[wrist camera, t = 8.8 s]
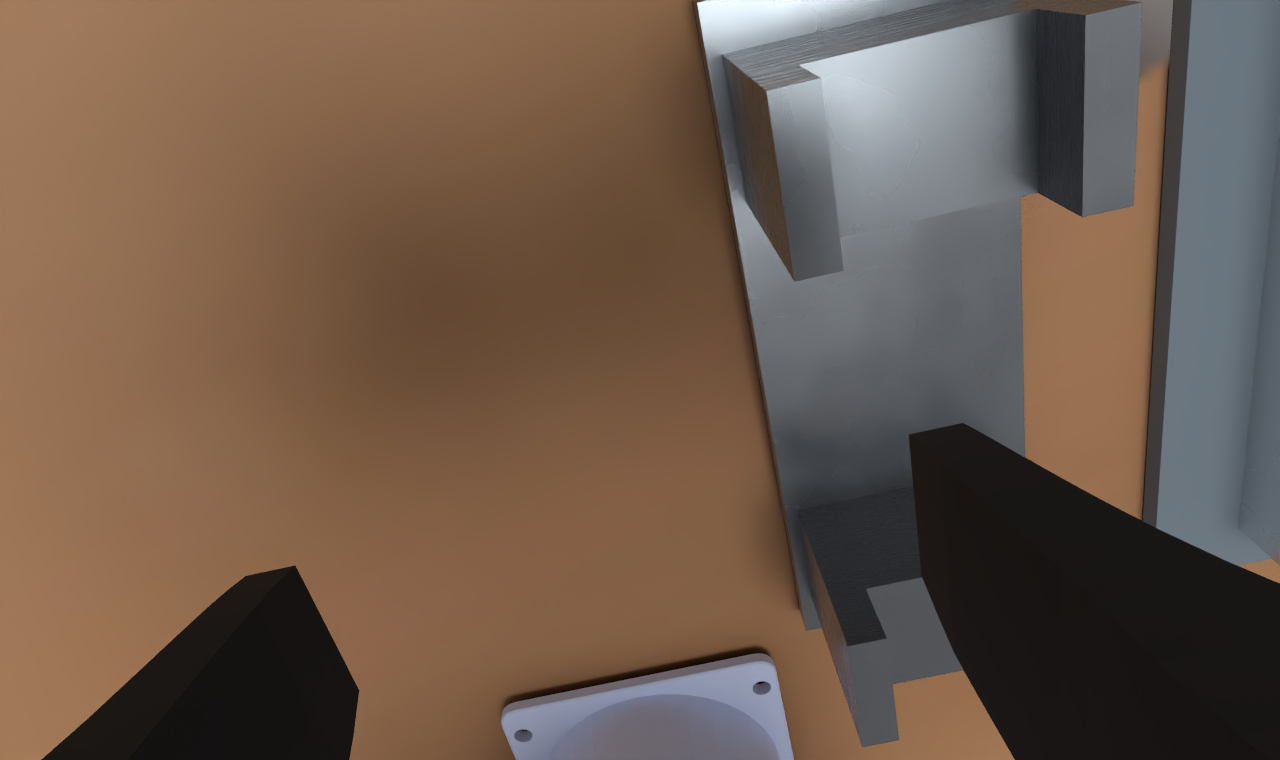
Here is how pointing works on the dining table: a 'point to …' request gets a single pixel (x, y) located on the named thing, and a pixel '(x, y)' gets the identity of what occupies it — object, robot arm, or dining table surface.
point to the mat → (1211, 267)
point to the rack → (899, 262)
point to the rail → (1265, 403)
